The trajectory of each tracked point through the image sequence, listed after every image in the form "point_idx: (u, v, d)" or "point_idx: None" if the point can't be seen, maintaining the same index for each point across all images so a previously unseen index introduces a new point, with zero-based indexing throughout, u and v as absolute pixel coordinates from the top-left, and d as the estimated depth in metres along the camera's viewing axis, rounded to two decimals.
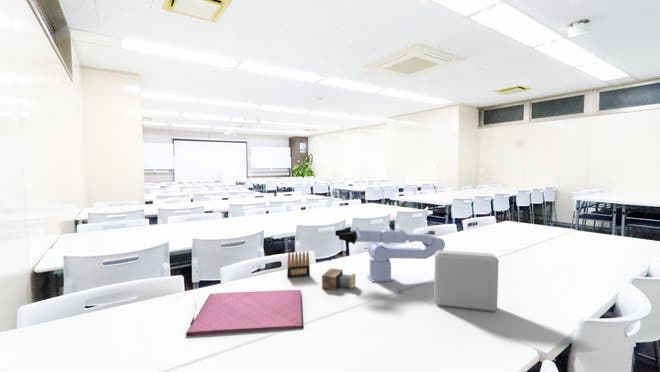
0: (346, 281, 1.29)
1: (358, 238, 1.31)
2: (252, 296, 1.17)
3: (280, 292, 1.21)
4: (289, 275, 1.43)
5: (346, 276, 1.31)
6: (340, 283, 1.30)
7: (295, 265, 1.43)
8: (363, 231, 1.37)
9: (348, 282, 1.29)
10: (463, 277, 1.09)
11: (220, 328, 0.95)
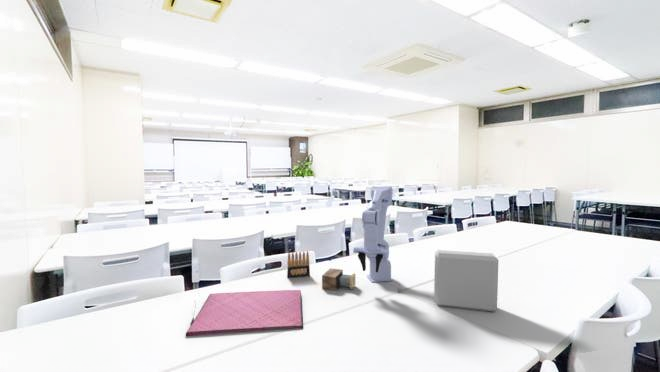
0: (346, 281, 1.29)
1: (388, 254, 1.24)
2: (252, 296, 1.17)
3: (280, 292, 1.21)
4: (289, 275, 1.43)
5: (346, 276, 1.31)
6: (340, 283, 1.30)
7: (295, 265, 1.43)
8: (373, 245, 1.24)
9: (348, 282, 1.29)
10: (463, 277, 1.09)
11: (219, 328, 0.95)
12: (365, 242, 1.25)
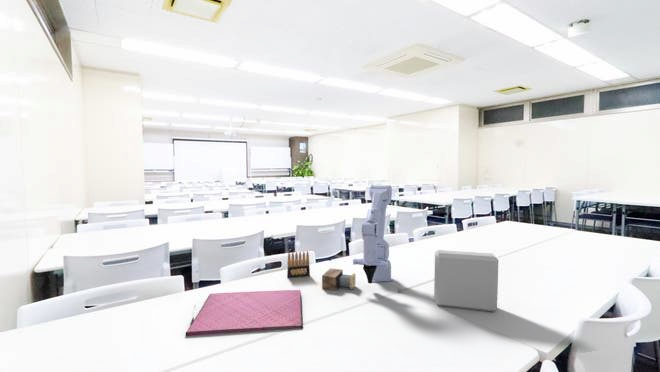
0: (346, 281, 1.29)
1: (387, 266, 1.24)
2: (252, 296, 1.17)
3: (280, 292, 1.21)
4: (289, 275, 1.43)
5: (346, 276, 1.31)
6: (340, 283, 1.30)
7: (295, 265, 1.43)
8: (373, 257, 1.24)
9: (348, 282, 1.29)
10: (463, 277, 1.09)
11: (219, 328, 0.95)
12: (365, 254, 1.25)
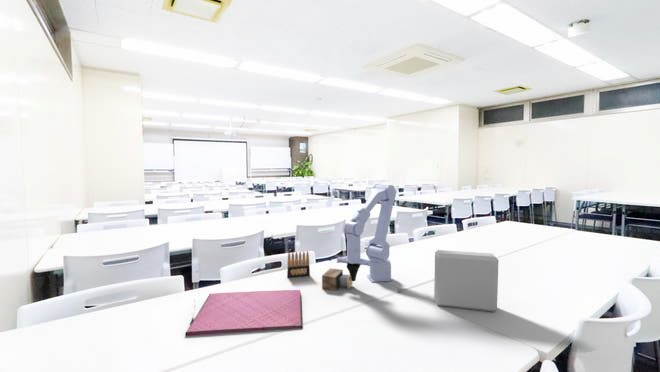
0: (343, 281, 1.29)
1: (370, 264, 1.27)
2: (252, 296, 1.17)
3: (280, 292, 1.21)
4: (289, 275, 1.43)
5: (343, 276, 1.31)
6: None
7: (295, 265, 1.43)
8: (356, 255, 1.26)
9: (345, 282, 1.29)
10: (463, 277, 1.09)
11: (219, 328, 0.95)
12: (348, 252, 1.28)
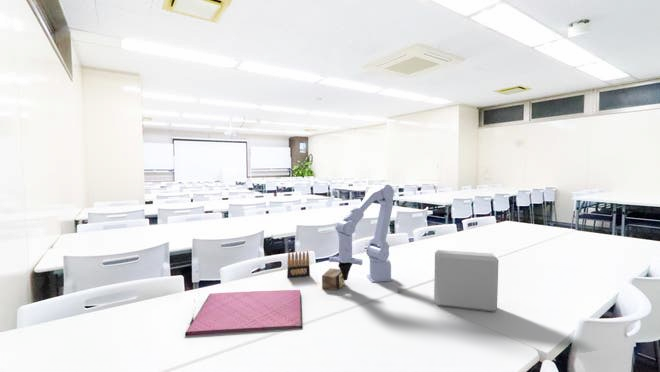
0: None
1: (361, 263, 1.28)
2: (252, 296, 1.17)
3: (279, 292, 1.21)
4: (289, 275, 1.43)
5: None
6: None
7: (295, 265, 1.43)
8: (347, 254, 1.28)
9: None
10: (463, 277, 1.09)
11: (219, 328, 0.95)
12: (340, 251, 1.29)
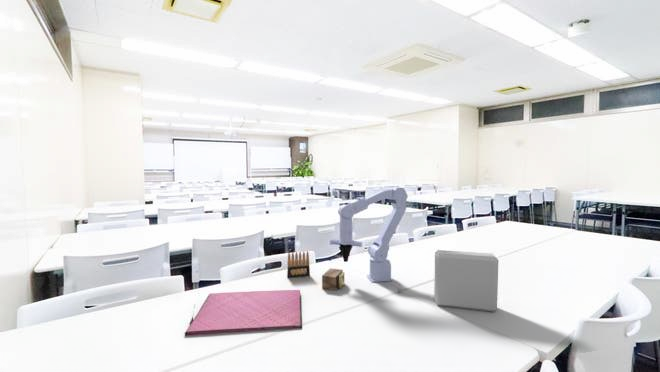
0: None
1: (361, 245, 1.34)
2: (252, 296, 1.17)
3: (279, 292, 1.21)
4: (289, 275, 1.43)
5: None
6: None
7: (295, 265, 1.43)
8: (348, 237, 1.34)
9: None
10: (463, 277, 1.09)
11: (218, 328, 0.96)
12: (340, 234, 1.35)
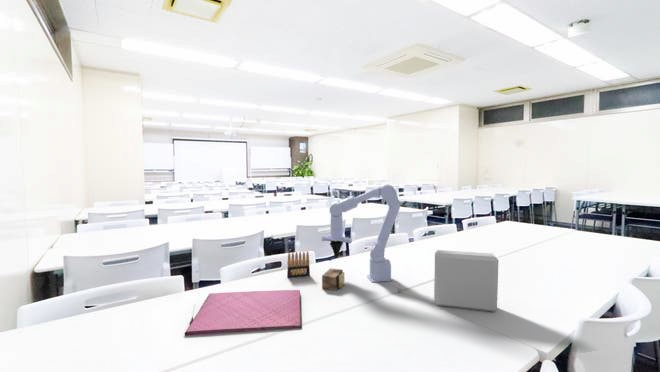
0: None
1: (351, 241, 1.41)
2: (252, 296, 1.17)
3: (279, 292, 1.21)
4: (289, 275, 1.43)
5: None
6: None
7: (295, 265, 1.43)
8: (338, 233, 1.41)
9: None
10: (463, 277, 1.09)
11: (218, 328, 0.96)
12: (331, 231, 1.42)
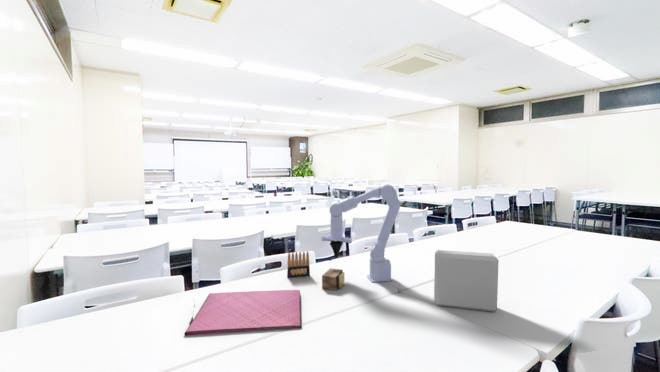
0: None
1: (351, 241, 1.41)
2: (251, 296, 1.17)
3: (279, 292, 1.21)
4: (289, 275, 1.43)
5: None
6: None
7: (295, 265, 1.43)
8: (338, 233, 1.41)
9: None
10: (463, 277, 1.09)
11: (218, 328, 0.96)
12: (331, 231, 1.42)
